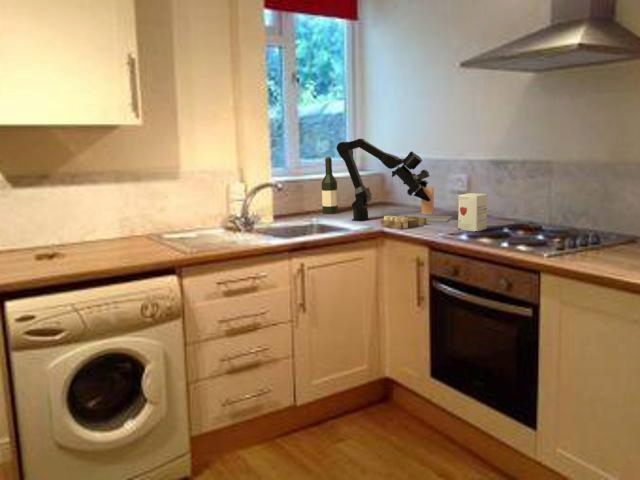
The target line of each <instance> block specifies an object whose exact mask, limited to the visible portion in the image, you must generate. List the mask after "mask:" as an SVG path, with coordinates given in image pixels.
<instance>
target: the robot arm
mask: <svg viewBox="0 0 640 480" xmlns="http://www.w3.org/2000/svg"><path fill="white" fill-rule="evenodd" d="M355 149H361V150H363V151H364V152H366V153H368V154H370V155H371V156H373V157H375V158H377V159H378V160H379V161H380V162H381V163H382V164H383V165H384V166H385V167H386V168H387V169H390V170H391V169H395V170H392V171H391V177H392V178H393V177H396V176H397V177H398V178H399V179H400V180H401V181H402V182H403V185H404V186H405V185H406V186H407V187H408V189H407V190H406V191H407V194H408V196H409V197H411V196H413V197H416V198H419V199H421V200H422V199H424V200H426V201H428V202H429V201H430V199H429V197H428V196H427V194H426V193H425V192H424V187H428V184H429V181H427V180H426V179H427V178H429V177H430V176H431V175H430V173H429V172H430V171H428V169H427V170H426V169H422V170H420V173H418V174H416V173H412V171H411V170H415V169H416V168H417V167H418V166H419V165H420V164H422V162H423V159H422V157H420V156H419V155H418V154H417V153H415V152H413V151H410V152H409V153H408V155H407V156H406V157H405V158H400V157H399V156H397V155H394V154H391V153H388V152H385V151H383V150H382V149H380V148H378V147H376V146H375V145H373V144H371V143H370V142H368V141H367V140H365V139H364V138H357V139H356V140H351V141H340V142H339V143H337V145H336V152H337V153H338V155H339V157H340V158H341V159H342V161H344V163H345V167H346V169H347V171H348V174H349V177H350V179H351V182H352V185H353V187H354V197H355V200H354V201H353V202H352V203H351V208H352V212H353V213H352V214H353V215H352V217H353V218H351V221H356V220H357V221H356V222H362V221H363V222H365V221H369V220H370V218H369V210H368V205H369V203H370V202H371V201H372V194H373V193H371V191H370V187H369V186H368V187H366V186H365V185H364V182H363V180H362V177H361V175H360V171H359V169H358V167H357V164H356V161H355V158H354V150H355ZM400 165H401V166H400Z"/></svg>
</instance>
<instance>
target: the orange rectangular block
mask: <svg viewBox="0 0 640 480" xmlns="http://www.w3.org/2000/svg"><path fill="white" fill-rule="evenodd" d="M434 188H435V187H429V186H427V187H424V192H425V193H426V194H427V196H428V197H429V199H430V201H429V202H428V201H426V200H424V199H421V214H422V215H423V214H425V215H432V214H434V212H435V211H434V210H435V209H434V205H435V204H434V202H435V200H434V199H435V197H434V196H435V192H434V191H435V189H434Z"/></svg>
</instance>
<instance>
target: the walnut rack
mask: <svg viewBox="0 0 640 480" xmlns="http://www.w3.org/2000/svg"><path fill="white" fill-rule="evenodd" d="M413 216H414V215H404V217H406V218H408V228H406V229H405V230H407V229H412V228H417V227H421V226H427V222H426V218H422V217H413ZM381 228H388V229H393V230H394V229H395V230H404V229H403V222H396V221H388V220H384V219H381Z"/></svg>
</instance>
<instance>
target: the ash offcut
mask: <svg viewBox="0 0 640 480" xmlns="http://www.w3.org/2000/svg"><path fill="white" fill-rule="evenodd" d="M395 217H398V216H396V215H384V216H383V220H388V221H395Z"/></svg>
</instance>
